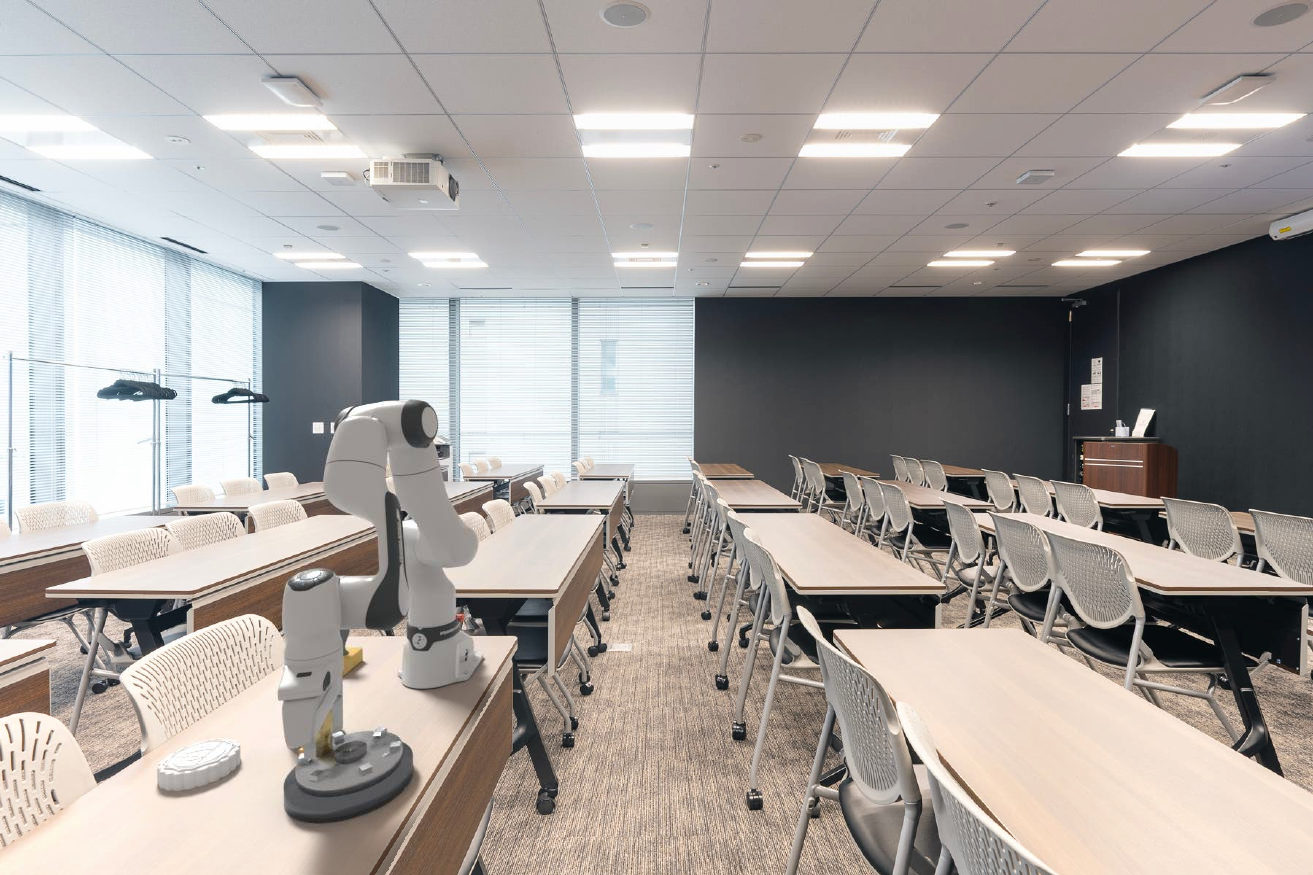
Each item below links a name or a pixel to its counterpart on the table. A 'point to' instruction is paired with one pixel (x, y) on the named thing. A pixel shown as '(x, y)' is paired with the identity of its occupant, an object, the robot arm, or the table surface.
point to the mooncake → (198, 764)
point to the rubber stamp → (350, 653)
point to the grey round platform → (346, 796)
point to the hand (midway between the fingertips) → (317, 742)
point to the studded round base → (348, 761)
